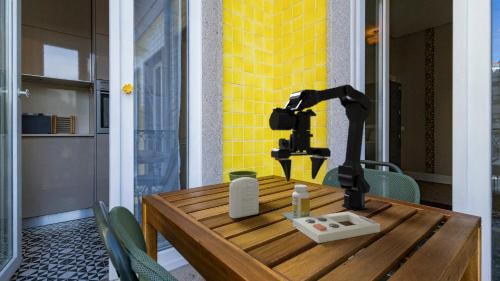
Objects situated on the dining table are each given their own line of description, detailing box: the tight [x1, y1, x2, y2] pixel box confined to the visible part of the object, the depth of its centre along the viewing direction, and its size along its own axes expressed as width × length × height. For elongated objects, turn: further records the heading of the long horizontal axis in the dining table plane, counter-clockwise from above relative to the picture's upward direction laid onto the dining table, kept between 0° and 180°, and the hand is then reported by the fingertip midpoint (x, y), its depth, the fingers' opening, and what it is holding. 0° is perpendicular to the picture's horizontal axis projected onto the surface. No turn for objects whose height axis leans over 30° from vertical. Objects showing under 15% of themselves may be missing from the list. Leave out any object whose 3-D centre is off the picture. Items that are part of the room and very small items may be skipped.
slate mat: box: [280, 211, 315, 223], centre depth 79 cm, size 9×9×1 cm
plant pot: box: [227, 170, 258, 182], centre depth 98 cm, size 12×12×11 cm
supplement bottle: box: [291, 184, 311, 218], centre depth 79 cm, size 5×5×10 cm
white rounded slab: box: [228, 177, 260, 219], centre depth 81 cm, size 10×4×12 cm, turn 123°
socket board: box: [292, 211, 381, 244], centre depth 70 cm, size 20×12×3 cm, turn 110°
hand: (301, 180), depth 79 cm, fingers open, 9 cm apart
